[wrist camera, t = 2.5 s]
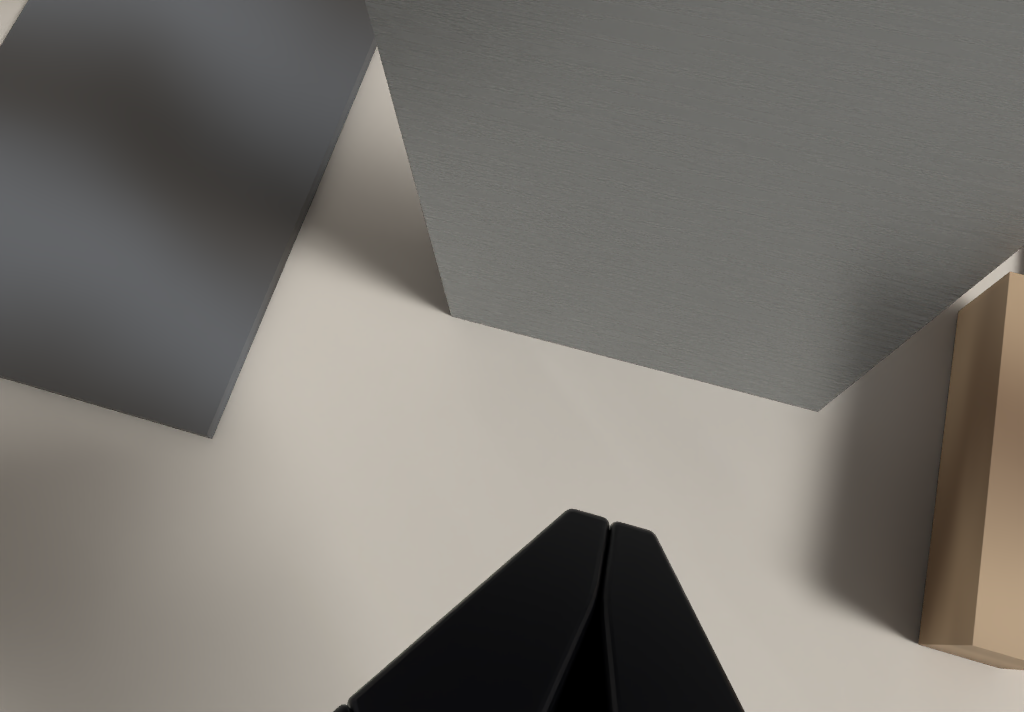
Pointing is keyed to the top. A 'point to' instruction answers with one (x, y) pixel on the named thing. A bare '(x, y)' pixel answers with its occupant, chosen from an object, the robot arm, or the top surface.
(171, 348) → the trap lane
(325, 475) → the top surface
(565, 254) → the bookend
